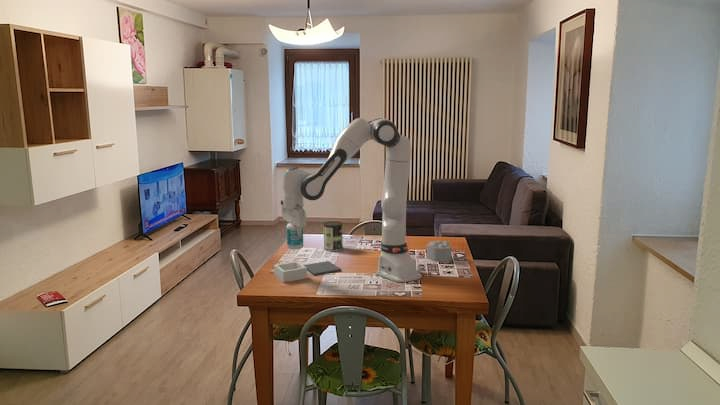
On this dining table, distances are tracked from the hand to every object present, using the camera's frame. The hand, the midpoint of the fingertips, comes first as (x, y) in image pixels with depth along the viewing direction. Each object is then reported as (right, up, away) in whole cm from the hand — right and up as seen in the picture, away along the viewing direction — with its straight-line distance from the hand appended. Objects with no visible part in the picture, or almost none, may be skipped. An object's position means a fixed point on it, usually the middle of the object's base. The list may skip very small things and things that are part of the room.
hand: (295, 232), depth 253 cm
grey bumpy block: (+70, -15, +29) cm, 77 cm away
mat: (+11, -18, +13) cm, 25 cm away
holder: (-2, -20, +3) cm, 21 cm away
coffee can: (+15, -11, +47) cm, 50 cm away
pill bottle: (0, -7, +1) cm, 7 cm away
